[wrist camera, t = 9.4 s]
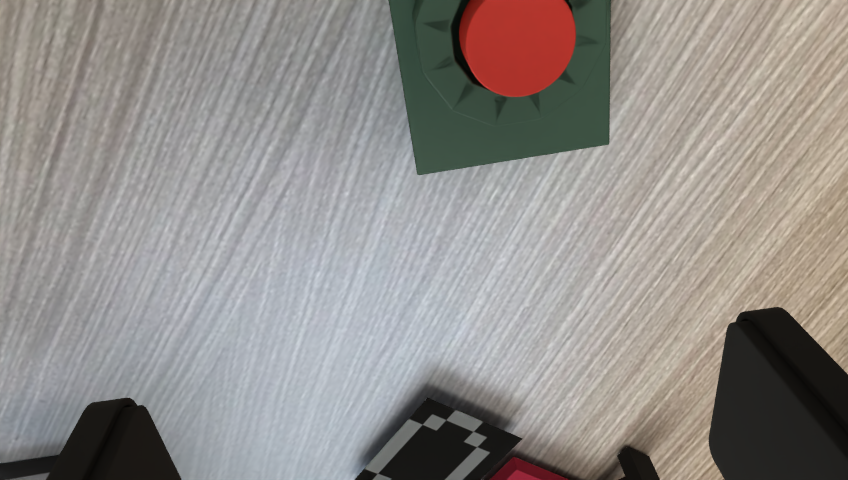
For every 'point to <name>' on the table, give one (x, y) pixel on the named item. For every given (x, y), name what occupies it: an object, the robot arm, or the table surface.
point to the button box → (488, 111)
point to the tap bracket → (28, 469)
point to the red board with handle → (467, 451)
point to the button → (517, 43)
